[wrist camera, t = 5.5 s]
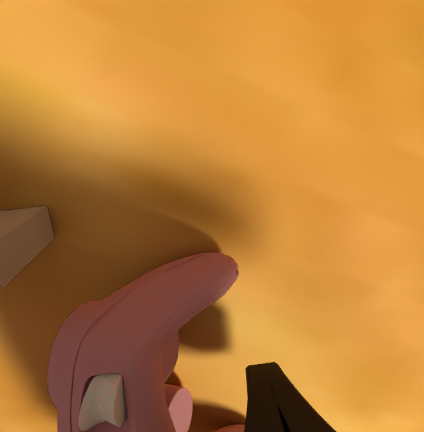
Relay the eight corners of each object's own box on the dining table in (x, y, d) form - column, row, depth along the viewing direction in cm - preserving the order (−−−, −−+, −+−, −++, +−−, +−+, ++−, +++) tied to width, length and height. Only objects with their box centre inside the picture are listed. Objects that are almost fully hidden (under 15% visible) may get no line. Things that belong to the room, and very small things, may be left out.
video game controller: (138, 239, 15) (-23, 352, 8) (243, 240, 13) (134, 384, 7) (180, 423, 17) (83, 605, 11) (271, 446, 16) (212, 677, 10)
